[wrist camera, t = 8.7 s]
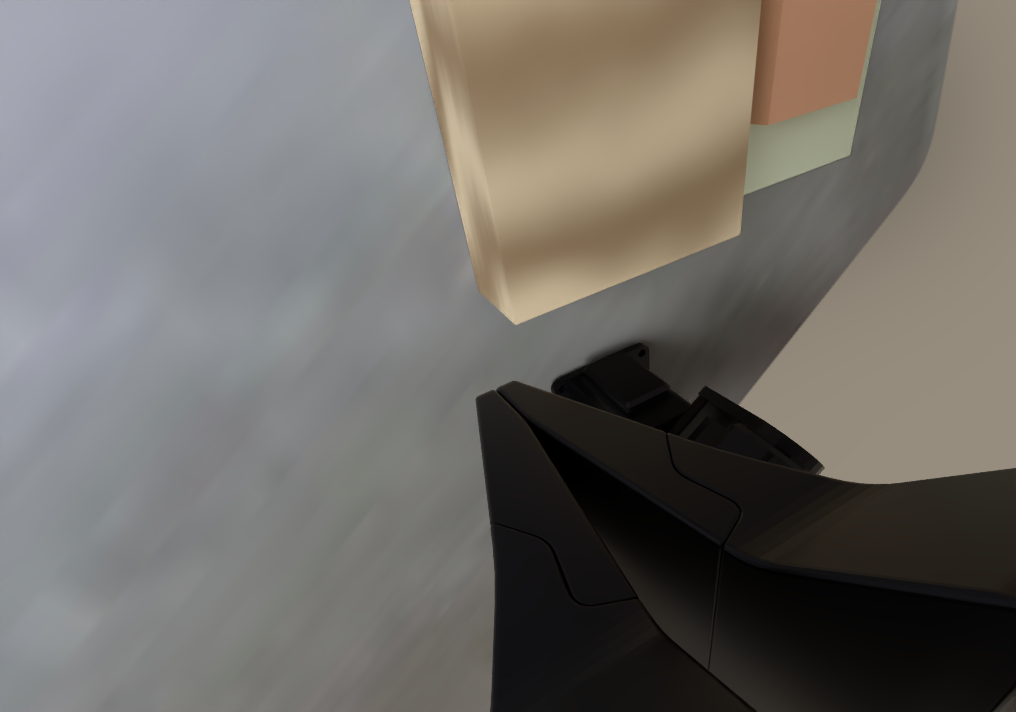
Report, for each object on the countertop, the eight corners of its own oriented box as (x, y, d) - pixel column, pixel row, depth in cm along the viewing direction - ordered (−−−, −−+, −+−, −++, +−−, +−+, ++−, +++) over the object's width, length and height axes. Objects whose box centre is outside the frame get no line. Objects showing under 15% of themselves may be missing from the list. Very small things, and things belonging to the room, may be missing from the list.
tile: (768, 125, 23) (734, 122, 24) (856, 97, 24) (820, 96, 26) (799, -138, 18) (755, -120, 19) (908, -151, 20) (859, -134, 21)
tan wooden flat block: (680, 216, 26) (740, 234, 23) (479, 291, 23) (515, 324, 20) (691, -311, 16) (798, -406, 13) (337, -304, 13) (365, -428, 10)
